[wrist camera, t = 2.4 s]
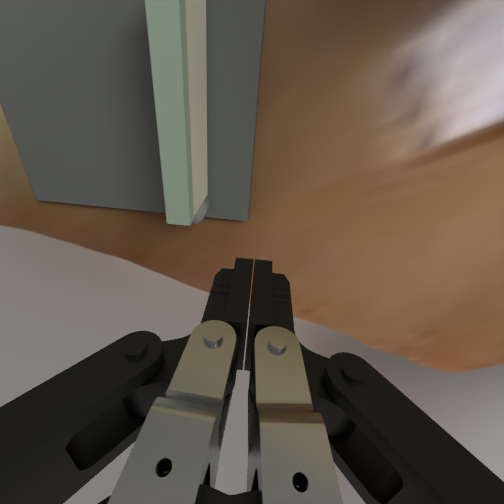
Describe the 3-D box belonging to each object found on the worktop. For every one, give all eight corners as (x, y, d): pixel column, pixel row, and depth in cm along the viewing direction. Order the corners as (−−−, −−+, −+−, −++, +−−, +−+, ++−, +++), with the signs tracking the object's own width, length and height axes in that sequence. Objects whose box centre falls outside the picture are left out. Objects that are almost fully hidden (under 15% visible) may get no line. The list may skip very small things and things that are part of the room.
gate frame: (-92, -184, 16) (-445, -450, 8) (277, -151, 16) (284, -389, 8) (43, 196, 29) (-43, 237, 21) (248, 217, 29) (239, 266, 21)
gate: (182, -5, 19) (139, -50, 13) (207, -3, 19) (176, -47, 13) (190, 192, 27) (166, 223, 20) (208, 194, 26) (190, 225, 20)
